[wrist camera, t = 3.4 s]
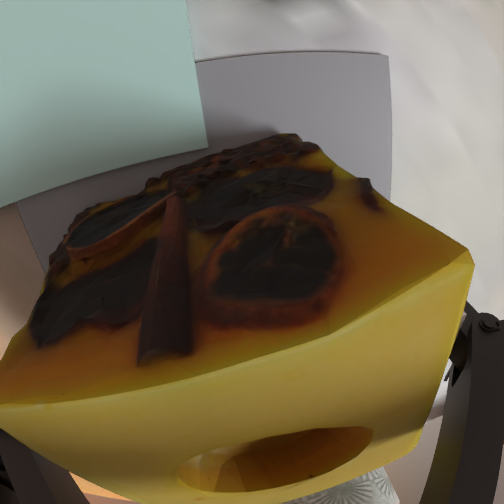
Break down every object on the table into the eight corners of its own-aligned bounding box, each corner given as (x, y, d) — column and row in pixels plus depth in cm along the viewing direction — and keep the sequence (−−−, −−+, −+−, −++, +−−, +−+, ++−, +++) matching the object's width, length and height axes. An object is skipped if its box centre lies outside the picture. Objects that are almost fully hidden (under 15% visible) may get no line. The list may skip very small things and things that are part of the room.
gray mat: (119, 390, 19) (119, 394, 18) (-2, 130, 9) (-5, 132, 9) (368, 340, 20) (370, 343, 20) (384, 55, 11) (388, 55, 11)
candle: (75, 211, 12) (-40, 400, 3) (292, 123, 12) (491, 227, 3) (171, 358, 17) (178, 521, 9) (334, 302, 17) (417, 453, 9)
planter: (232, 448, 26) (251, 546, 16) (350, 398, 24) (395, 500, 15) (282, 471, 32) (301, 541, 23) (371, 433, 31) (403, 504, 21)
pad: (-25, 216, 11) (-31, 221, 10) (-56, 5, 4) (-62, 5, 4) (207, 145, 12) (208, 147, 12) (173, -103, 5) (173, -109, 5)
